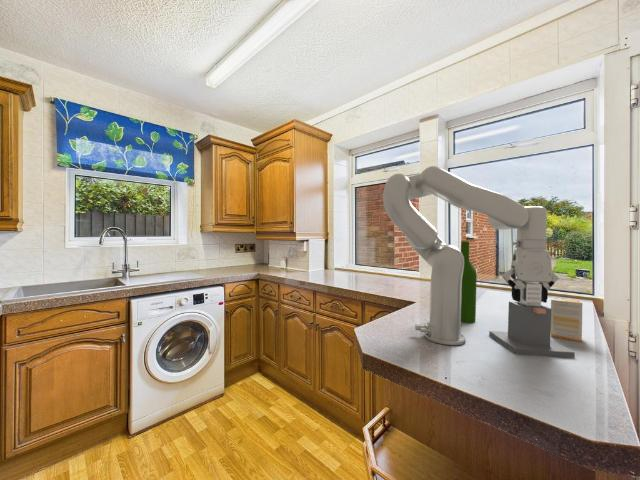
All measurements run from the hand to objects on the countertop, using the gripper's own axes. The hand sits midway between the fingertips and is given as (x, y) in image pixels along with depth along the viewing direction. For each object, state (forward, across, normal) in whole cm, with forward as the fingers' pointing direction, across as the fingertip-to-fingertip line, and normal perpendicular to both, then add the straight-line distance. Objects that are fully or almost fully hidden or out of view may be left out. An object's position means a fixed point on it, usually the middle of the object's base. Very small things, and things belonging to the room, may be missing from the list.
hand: (529, 300), depth 91 cm
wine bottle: (+14, -10, +26) cm, 31 cm away
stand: (+14, 0, 0) cm, 14 cm away
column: (+13, 0, 0) cm, 13 cm away
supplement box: (+15, +18, +10) cm, 25 cm away
